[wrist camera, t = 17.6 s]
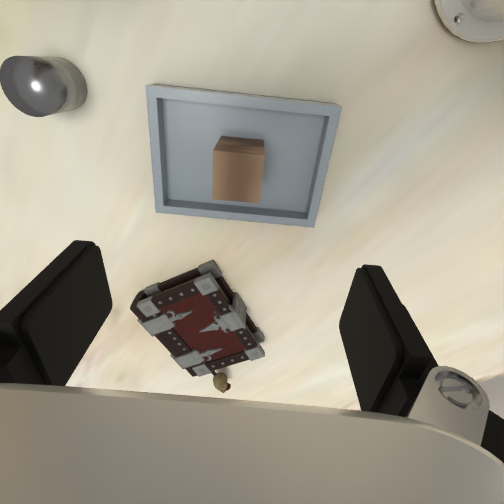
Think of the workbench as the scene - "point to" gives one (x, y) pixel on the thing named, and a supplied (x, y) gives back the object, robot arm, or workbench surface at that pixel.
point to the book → (200, 322)
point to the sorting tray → (243, 126)
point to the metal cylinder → (42, 84)
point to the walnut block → (238, 169)
